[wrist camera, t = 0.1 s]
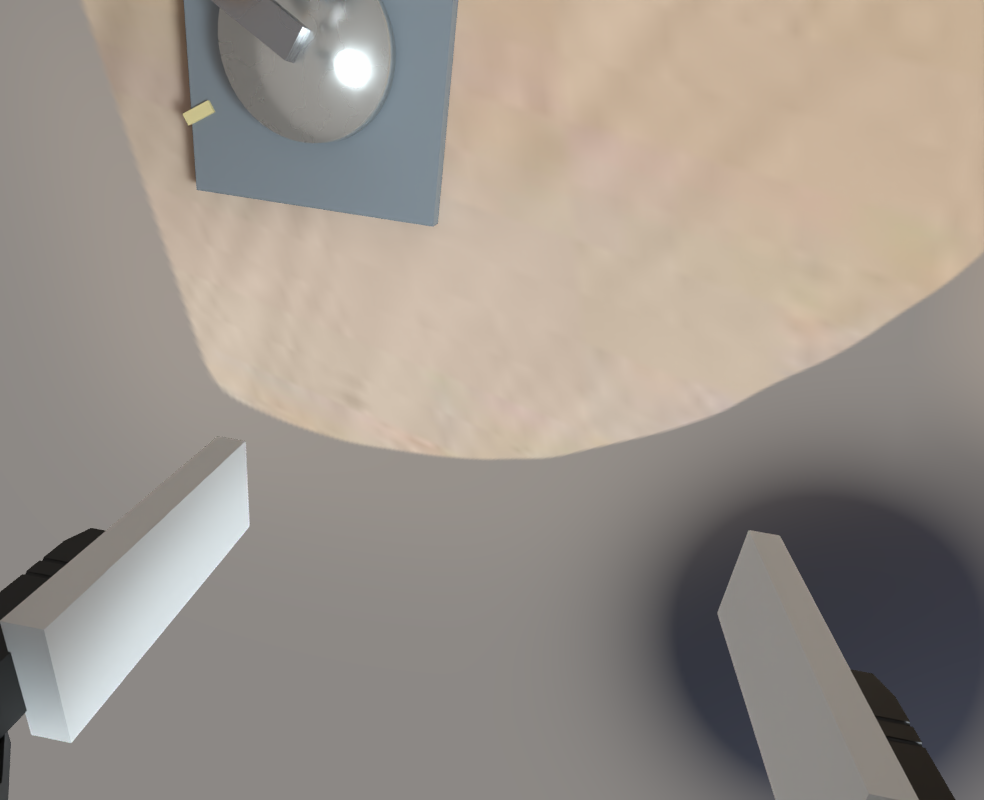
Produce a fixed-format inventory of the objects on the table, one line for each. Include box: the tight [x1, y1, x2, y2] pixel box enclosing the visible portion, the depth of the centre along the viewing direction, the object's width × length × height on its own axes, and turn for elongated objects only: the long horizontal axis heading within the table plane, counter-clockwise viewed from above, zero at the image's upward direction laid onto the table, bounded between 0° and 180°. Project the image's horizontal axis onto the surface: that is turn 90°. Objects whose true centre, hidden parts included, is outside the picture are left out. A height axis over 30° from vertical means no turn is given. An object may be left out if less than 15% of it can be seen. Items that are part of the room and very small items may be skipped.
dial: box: [211, 0, 396, 143], centre depth 32 cm, size 10×12×8 cm
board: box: [183, 0, 458, 226], centre depth 36 cm, size 18×16×2 cm
